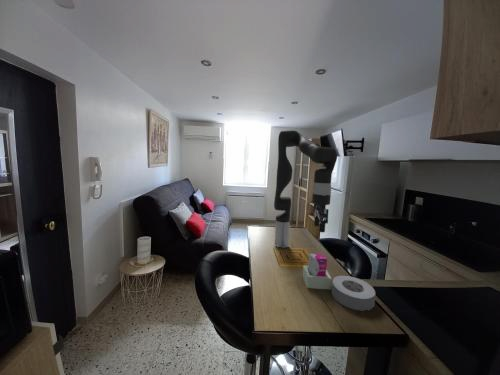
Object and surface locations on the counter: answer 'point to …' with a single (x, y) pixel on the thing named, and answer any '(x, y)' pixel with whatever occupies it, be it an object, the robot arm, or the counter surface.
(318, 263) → the supplement box
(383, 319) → the counter surface
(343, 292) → the tape roll
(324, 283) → the holder
